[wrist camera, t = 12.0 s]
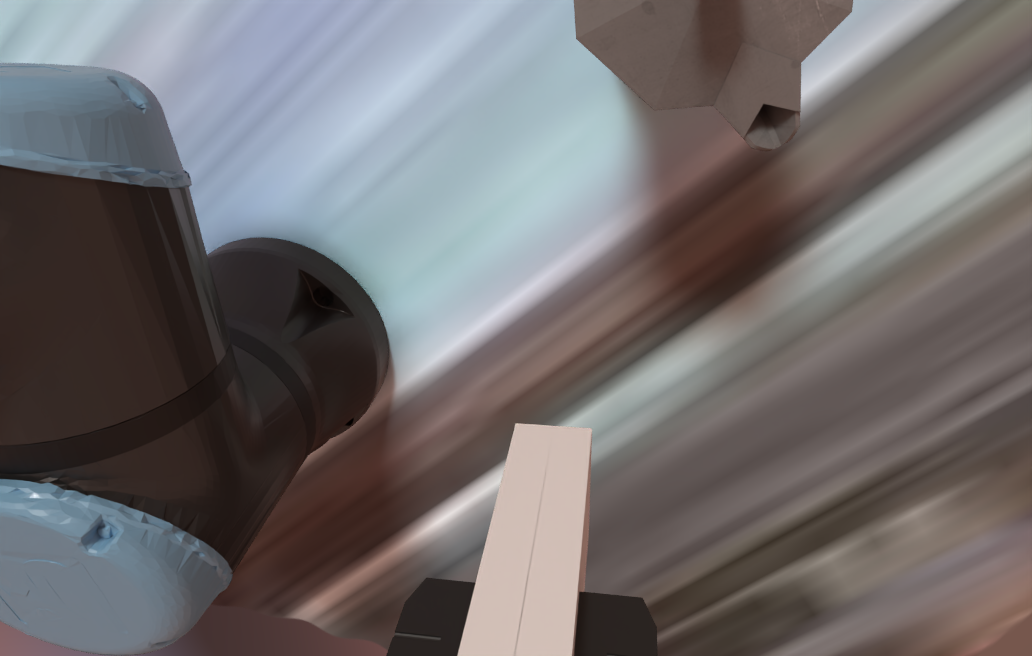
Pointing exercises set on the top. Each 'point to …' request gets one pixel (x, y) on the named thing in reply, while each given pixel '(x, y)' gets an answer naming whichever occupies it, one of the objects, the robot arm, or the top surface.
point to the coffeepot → (713, 55)
